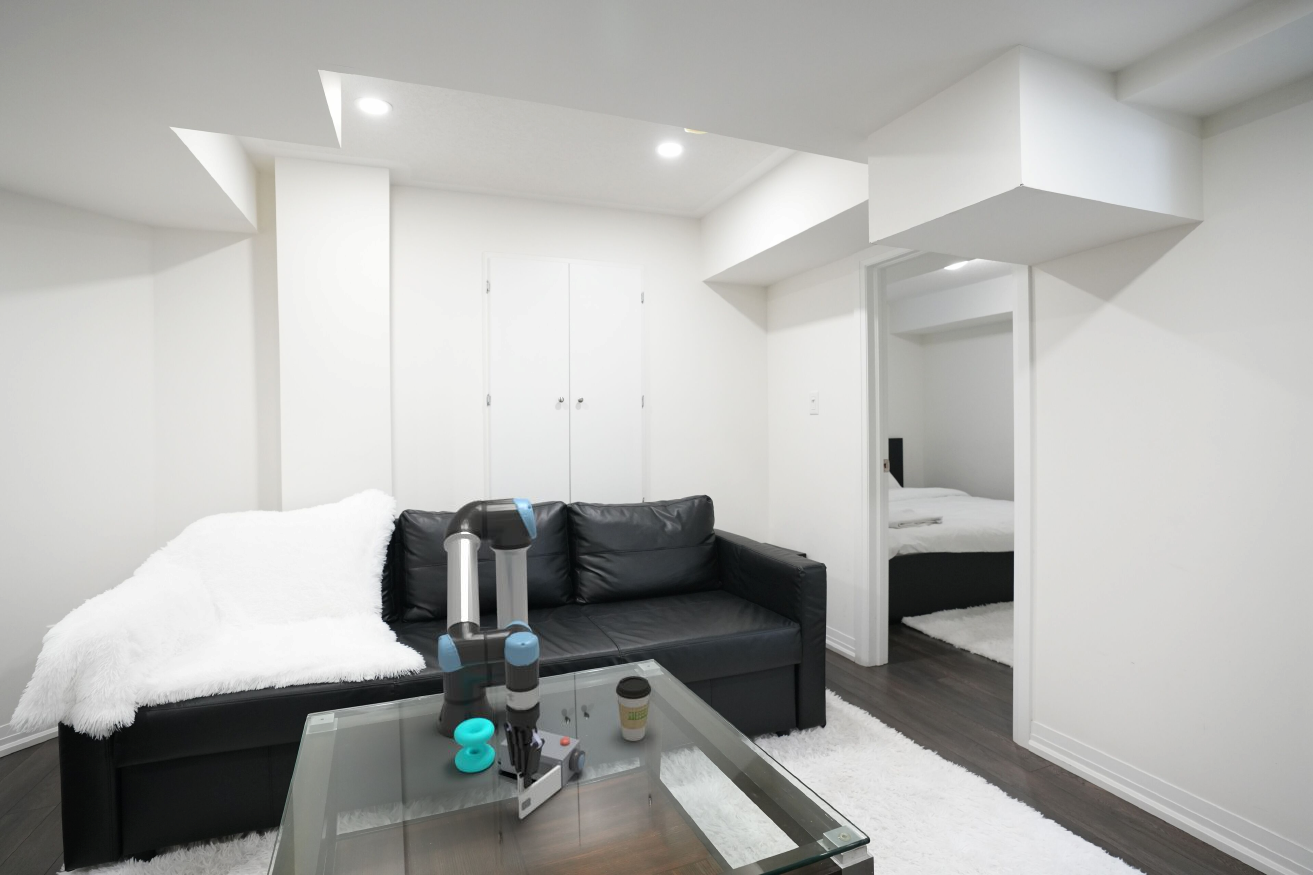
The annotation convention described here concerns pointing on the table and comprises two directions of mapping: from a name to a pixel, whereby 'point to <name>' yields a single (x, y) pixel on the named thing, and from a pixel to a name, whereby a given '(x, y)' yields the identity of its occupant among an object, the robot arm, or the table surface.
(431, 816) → the table surface
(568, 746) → the grey boxy piece
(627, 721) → the coffee cup
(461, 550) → the robot arm
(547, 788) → the side door
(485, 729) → the donuts
